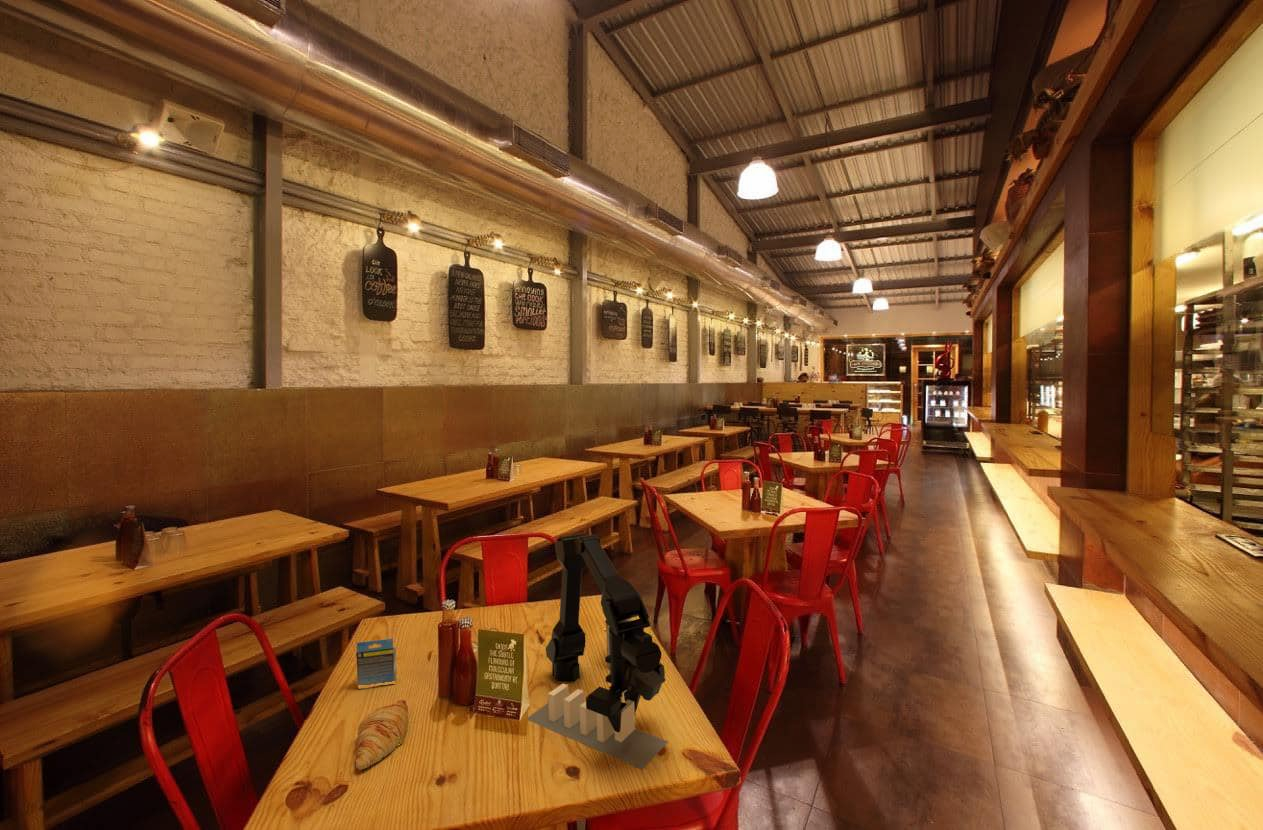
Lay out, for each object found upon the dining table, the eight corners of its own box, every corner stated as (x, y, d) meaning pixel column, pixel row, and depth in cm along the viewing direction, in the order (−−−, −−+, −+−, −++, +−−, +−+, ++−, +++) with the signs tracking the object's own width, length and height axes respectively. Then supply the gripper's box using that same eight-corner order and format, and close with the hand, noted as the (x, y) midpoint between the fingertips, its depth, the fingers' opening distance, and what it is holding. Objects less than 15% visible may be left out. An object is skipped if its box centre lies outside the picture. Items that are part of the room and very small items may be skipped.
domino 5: (614, 739, 112) (614, 711, 111) (628, 726, 116) (628, 699, 116) (621, 742, 111) (620, 713, 111) (634, 729, 115) (634, 701, 115)
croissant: (375, 791, 107) (393, 756, 106) (328, 770, 106) (346, 735, 106) (414, 723, 128) (429, 694, 128) (374, 706, 127) (389, 676, 127)
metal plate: (525, 723, 122) (525, 718, 122) (555, 701, 130) (555, 697, 130) (642, 774, 105) (642, 769, 105) (668, 746, 113) (668, 741, 113)
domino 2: (564, 726, 119) (563, 699, 119) (578, 714, 123) (578, 688, 123) (570, 728, 118) (569, 701, 118) (584, 717, 122) (583, 691, 122)
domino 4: (597, 740, 114) (596, 712, 114) (611, 727, 118) (610, 700, 118) (603, 742, 113) (602, 714, 113) (617, 730, 117) (616, 703, 117)
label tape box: (397, 677, 143) (395, 631, 143) (394, 685, 139) (393, 638, 139) (360, 682, 141) (358, 636, 140) (357, 691, 137) (355, 643, 136)
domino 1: (548, 719, 122) (548, 693, 121) (563, 708, 126) (563, 683, 126) (554, 722, 121) (553, 695, 120) (568, 710, 125) (568, 685, 125)
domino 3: (580, 733, 117) (579, 705, 116) (594, 721, 121) (594, 694, 121) (586, 735, 116) (585, 708, 116) (600, 723, 120) (599, 696, 120)
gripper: (630, 682, 100) (632, 764, 101) (679, 642, 116) (680, 714, 117) (583, 666, 107) (584, 744, 107) (635, 630, 122) (636, 699, 123)
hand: (624, 724), depth 113 cm, fingers closed on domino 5, 5 cm apart
